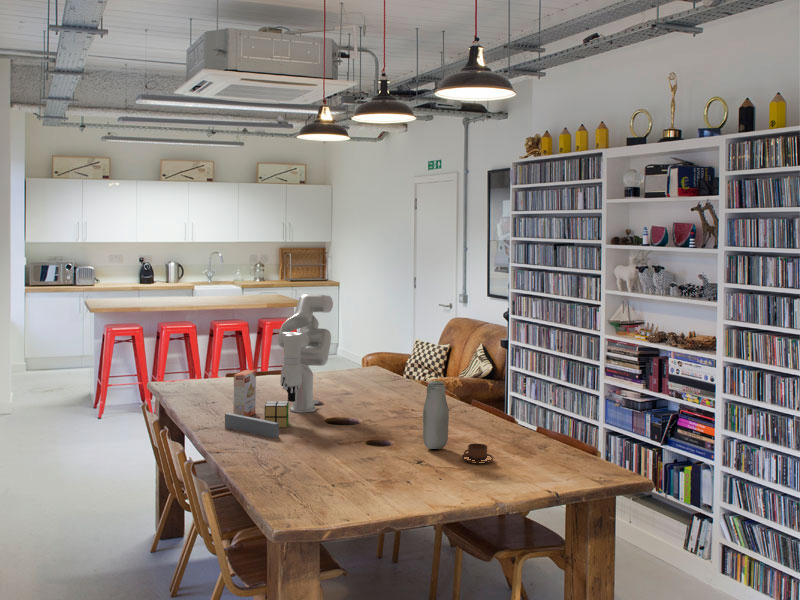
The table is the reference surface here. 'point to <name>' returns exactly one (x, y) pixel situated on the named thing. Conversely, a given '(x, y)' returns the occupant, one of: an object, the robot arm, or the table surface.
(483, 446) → the cup and saucer
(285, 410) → the puzzle cube
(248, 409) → the cracker box
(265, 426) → the stop board
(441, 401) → the glass bottle
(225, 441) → the table surface
